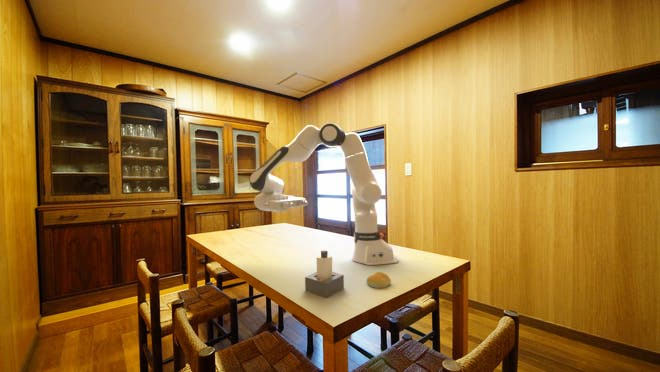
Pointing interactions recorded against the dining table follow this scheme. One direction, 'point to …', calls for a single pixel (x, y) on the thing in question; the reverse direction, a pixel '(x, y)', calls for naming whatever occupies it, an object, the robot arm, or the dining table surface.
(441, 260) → the dining table surface
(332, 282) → the socket block
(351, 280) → the dining table surface
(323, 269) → the plug
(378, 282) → the bread roll
